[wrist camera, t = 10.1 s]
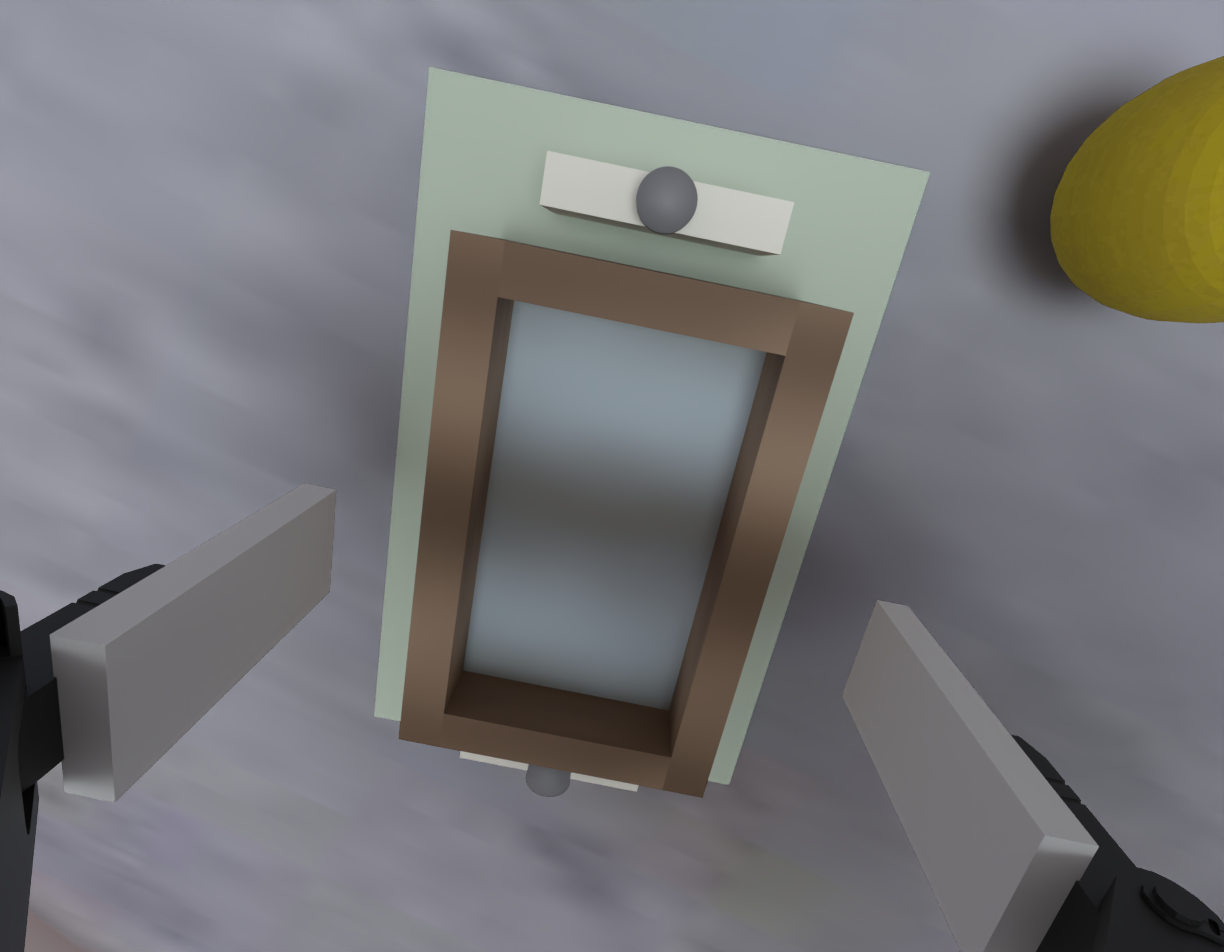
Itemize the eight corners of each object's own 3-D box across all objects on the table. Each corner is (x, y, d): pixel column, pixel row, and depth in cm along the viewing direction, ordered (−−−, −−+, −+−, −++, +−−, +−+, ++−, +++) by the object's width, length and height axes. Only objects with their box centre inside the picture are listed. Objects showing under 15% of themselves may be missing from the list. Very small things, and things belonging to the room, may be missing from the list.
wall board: (727, 774, 25) (743, 875, 21) (379, 707, 25) (326, 795, 21) (922, 174, 18) (1005, 147, 14) (435, 71, 17) (371, 14, 13)
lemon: (1004, 109, 17) (1290, -13, 10) (1219, 91, 17) (1695, -53, 9) (980, 317, 19) (1206, 352, 11) (1175, 304, 18) (1543, 331, 11)
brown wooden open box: (690, 687, 23) (702, 797, 18) (449, 640, 23) (398, 738, 18) (800, 300, 18) (854, 312, 14) (500, 238, 18) (450, 229, 14)
